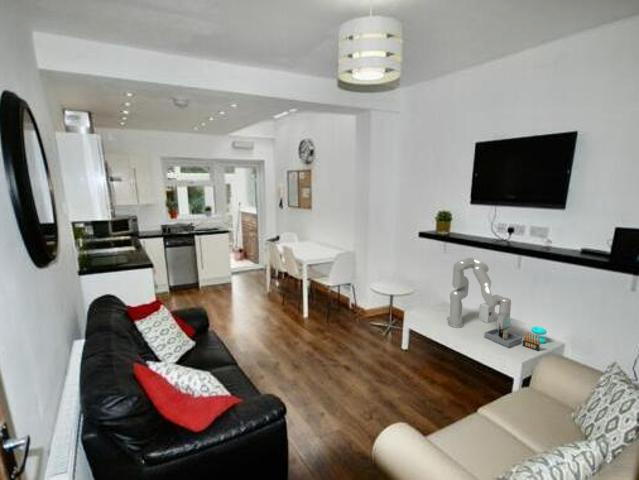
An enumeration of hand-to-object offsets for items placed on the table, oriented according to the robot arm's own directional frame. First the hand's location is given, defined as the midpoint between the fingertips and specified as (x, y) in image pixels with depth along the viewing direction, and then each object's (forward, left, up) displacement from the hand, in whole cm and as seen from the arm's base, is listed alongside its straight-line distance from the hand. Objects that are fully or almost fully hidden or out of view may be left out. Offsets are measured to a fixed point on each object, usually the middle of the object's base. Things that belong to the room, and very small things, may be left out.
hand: (502, 335), depth 258 cm
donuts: (+14, +22, -4) cm, 26 cm away
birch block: (0, 0, -2) cm, 2 cm away
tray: (0, 0, -4) cm, 4 cm away
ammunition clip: (+18, +6, -4) cm, 19 cm away
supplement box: (-30, +22, -4) cm, 37 cm away
